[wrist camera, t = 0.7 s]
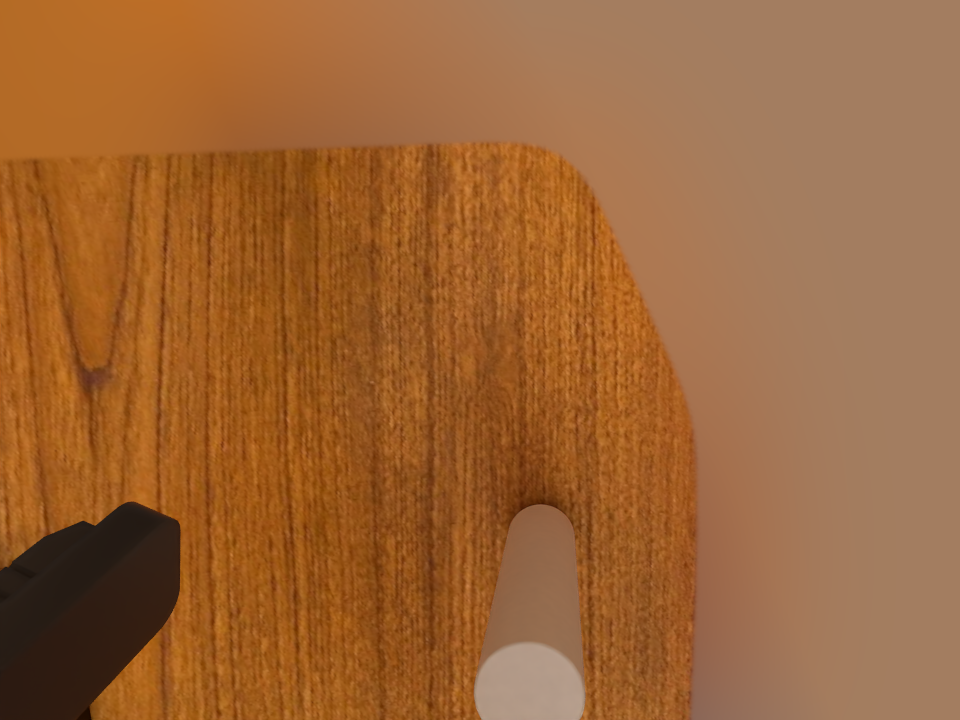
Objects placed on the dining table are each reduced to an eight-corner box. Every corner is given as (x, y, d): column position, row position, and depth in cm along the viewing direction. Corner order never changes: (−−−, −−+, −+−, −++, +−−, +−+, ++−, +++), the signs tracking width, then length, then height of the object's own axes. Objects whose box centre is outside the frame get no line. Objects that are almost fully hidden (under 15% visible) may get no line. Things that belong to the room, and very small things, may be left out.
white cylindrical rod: (495, 532, 31) (451, 695, 18) (539, 486, 31) (525, 619, 18) (543, 576, 31) (532, 772, 18) (587, 531, 31) (609, 696, 18)
